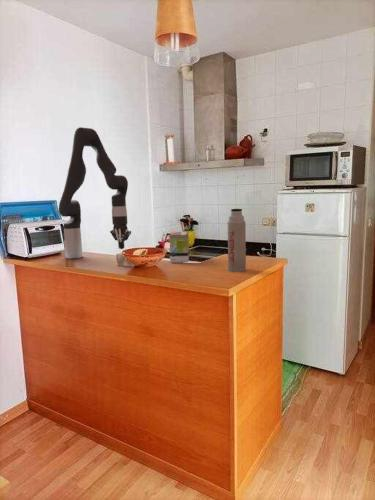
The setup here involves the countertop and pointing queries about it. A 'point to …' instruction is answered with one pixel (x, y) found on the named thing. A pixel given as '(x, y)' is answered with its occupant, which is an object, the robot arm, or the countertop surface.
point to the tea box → (179, 247)
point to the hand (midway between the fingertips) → (121, 248)
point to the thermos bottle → (236, 241)
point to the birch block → (122, 260)
